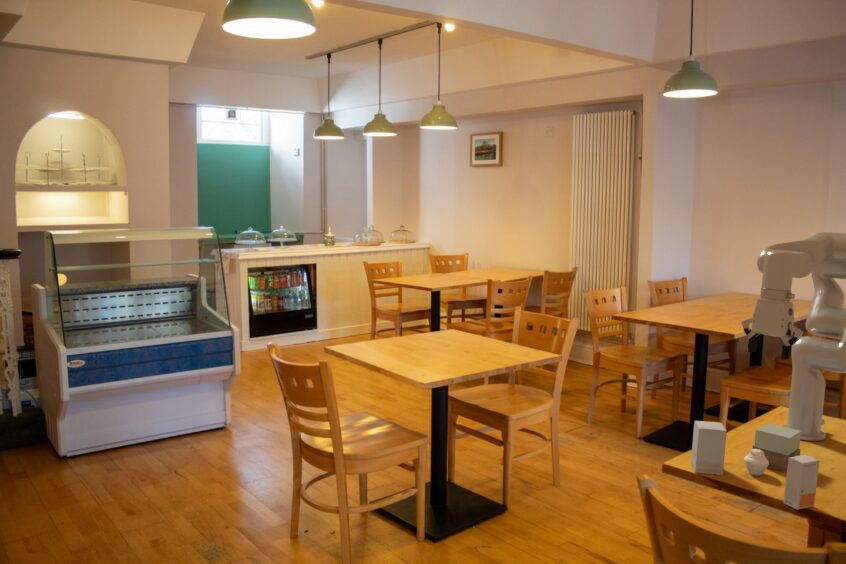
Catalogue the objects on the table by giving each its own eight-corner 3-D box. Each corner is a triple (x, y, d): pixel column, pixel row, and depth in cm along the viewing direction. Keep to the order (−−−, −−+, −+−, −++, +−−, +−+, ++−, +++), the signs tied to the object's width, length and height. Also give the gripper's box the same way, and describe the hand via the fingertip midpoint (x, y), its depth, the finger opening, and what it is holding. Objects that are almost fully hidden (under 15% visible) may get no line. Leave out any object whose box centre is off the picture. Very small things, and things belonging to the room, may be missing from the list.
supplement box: (723, 475, 197) (727, 430, 195) (694, 473, 198) (698, 428, 196) (718, 465, 204) (722, 422, 202) (690, 462, 205) (693, 419, 204)
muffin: (748, 467, 204) (750, 443, 203) (771, 473, 199) (773, 449, 198) (739, 472, 199) (741, 448, 198) (762, 479, 195) (764, 454, 194)
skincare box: (797, 510, 177) (802, 463, 175) (782, 503, 180) (787, 457, 179) (815, 506, 179) (820, 460, 177) (800, 499, 183) (805, 454, 181)
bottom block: (767, 456, 213) (769, 439, 213) (798, 466, 206) (800, 449, 205) (751, 462, 208) (752, 445, 207) (782, 472, 201) (784, 455, 200)
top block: (766, 439, 213) (768, 422, 212) (799, 448, 206) (801, 431, 206) (754, 446, 206) (755, 429, 206) (787, 455, 200) (789, 438, 199)
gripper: (813, 299, 199) (805, 361, 201) (753, 291, 213) (746, 348, 215) (799, 300, 194) (791, 363, 196) (739, 291, 208) (732, 350, 210)
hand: (768, 355), depth 205 cm, fingers open, 9 cm apart
